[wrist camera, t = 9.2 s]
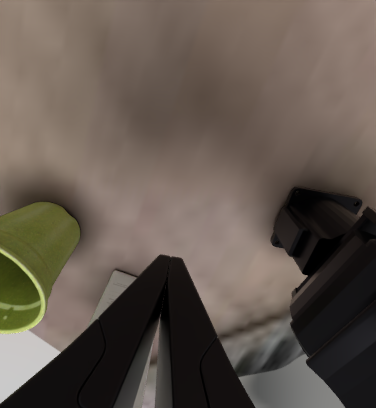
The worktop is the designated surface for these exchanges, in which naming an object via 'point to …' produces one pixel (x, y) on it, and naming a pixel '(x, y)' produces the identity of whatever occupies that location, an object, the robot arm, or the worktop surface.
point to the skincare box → (110, 294)
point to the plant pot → (32, 261)
